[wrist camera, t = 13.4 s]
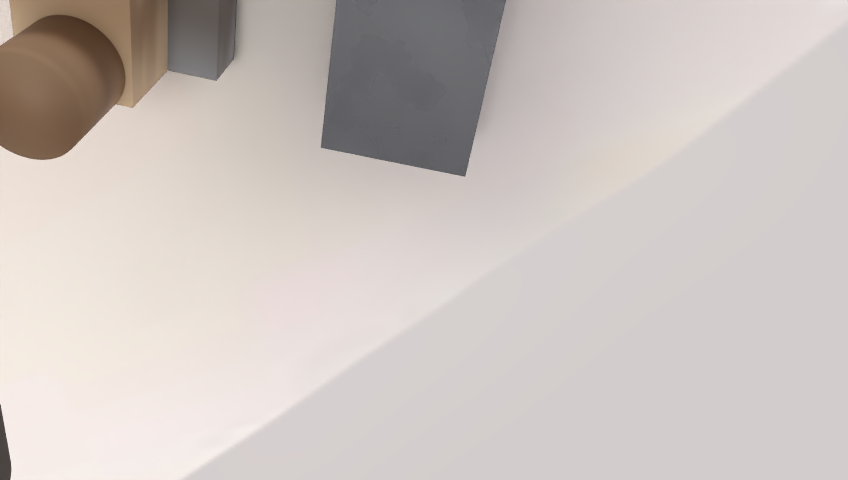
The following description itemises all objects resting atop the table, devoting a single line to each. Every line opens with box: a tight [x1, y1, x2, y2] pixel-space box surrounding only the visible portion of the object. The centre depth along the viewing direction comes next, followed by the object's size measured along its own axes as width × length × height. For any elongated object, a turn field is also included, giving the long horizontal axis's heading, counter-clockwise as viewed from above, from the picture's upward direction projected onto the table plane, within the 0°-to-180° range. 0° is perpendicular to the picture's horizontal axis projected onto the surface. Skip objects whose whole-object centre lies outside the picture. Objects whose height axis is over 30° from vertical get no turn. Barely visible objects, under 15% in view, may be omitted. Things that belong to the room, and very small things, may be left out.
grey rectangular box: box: [321, 0, 506, 176], centre depth 27 cm, size 8×5×4 cm, turn 170°
